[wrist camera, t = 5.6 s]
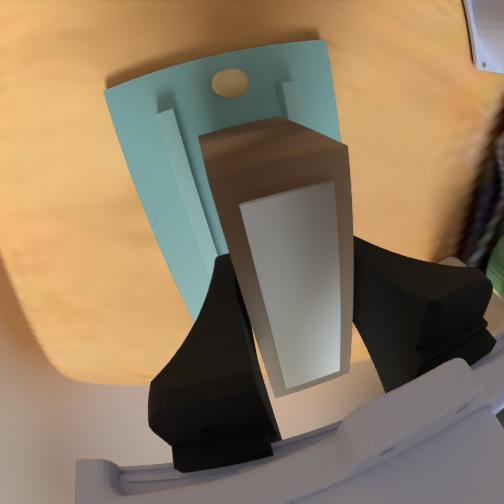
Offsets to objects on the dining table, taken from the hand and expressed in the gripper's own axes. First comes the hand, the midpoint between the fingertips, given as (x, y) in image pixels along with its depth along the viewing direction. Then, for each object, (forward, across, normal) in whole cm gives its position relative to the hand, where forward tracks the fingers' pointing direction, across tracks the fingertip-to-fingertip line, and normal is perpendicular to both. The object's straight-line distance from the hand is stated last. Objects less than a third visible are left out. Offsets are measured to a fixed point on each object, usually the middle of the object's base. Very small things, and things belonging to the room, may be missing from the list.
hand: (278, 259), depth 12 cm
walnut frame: (+3, 0, 0) cm, 3 cm away
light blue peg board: (+5, 0, 0) cm, 5 cm away
